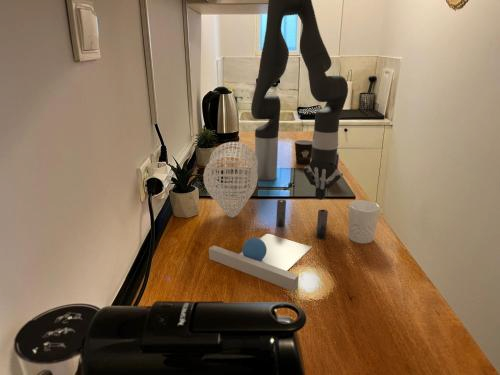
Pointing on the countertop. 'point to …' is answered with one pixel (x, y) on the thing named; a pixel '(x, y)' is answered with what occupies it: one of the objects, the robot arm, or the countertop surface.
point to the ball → (254, 249)
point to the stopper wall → (254, 267)
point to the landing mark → (282, 252)
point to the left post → (281, 213)
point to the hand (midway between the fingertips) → (320, 198)
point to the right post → (321, 224)
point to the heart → (212, 178)
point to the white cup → (362, 221)
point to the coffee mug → (303, 151)
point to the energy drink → (337, 169)
